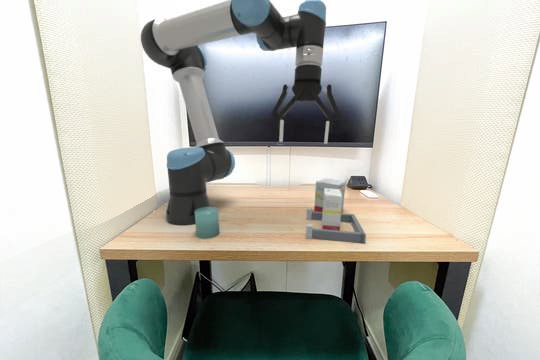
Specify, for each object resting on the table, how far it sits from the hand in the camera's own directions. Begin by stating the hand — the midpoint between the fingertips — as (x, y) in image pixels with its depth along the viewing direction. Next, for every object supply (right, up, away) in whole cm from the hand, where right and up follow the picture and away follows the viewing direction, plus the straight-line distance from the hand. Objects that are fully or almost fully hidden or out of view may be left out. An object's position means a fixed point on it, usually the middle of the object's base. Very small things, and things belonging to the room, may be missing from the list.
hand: (302, 142), depth 65 cm
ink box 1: (+12, -23, +15) cm, 30 cm away
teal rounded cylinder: (-28, -27, -4) cm, 39 cm away
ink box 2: (+8, -27, 0) cm, 28 cm away
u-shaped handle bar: (+9, -26, -1) cm, 28 cm away
